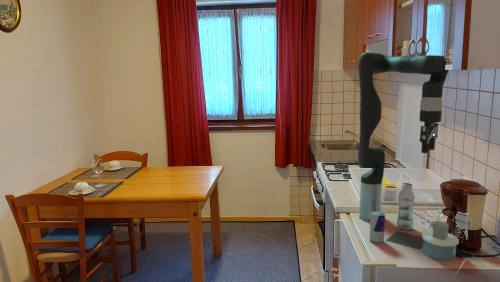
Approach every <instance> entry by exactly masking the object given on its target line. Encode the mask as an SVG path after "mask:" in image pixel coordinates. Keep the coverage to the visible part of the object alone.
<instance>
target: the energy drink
mask: <svg viewBox="0 0 500 282" xmlns="http://www.w3.org/2000/svg"><path fill="white" fill-rule="evenodd" d="M385 221H386V214H385V213H384V212H383V211H381V210H380V211H373V212H371V219H370V221H369V223H370V224H369V239H368V240H369V243H371V244H372V245H383V244H384V242H385V228H386V227H385V226H386V224H385V223H386V222H385Z"/></svg>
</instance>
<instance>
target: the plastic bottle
mask: <svg viewBox="0 0 500 282" xmlns="http://www.w3.org/2000/svg"><path fill="white" fill-rule="evenodd" d="M401 188H402V189H401V190H400V191H399V193H398V196H397V199H398V216H397V219H396V226H397V228H398V229H400V230H402V231H412V229H413V228H414V219H413V218H414V217H413V216H414V212H413V211H414V203H415V200H416V196H415V194H414V192H413V191H412V189H413V183H409V182H404V183H402V187H401Z"/></svg>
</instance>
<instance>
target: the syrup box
mask: <svg viewBox="0 0 500 282" xmlns="http://www.w3.org/2000/svg"><path fill="white" fill-rule="evenodd" d="M469 218H470V217H469V214H468V213H462V212H457V214H456V216H455V219H456V224H457V225H456V227H458V228H460V229H462V230H463V229H465V231H463V232H464V234H465V236H466V240H467V239H468V229H469V226H470V219H469Z"/></svg>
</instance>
